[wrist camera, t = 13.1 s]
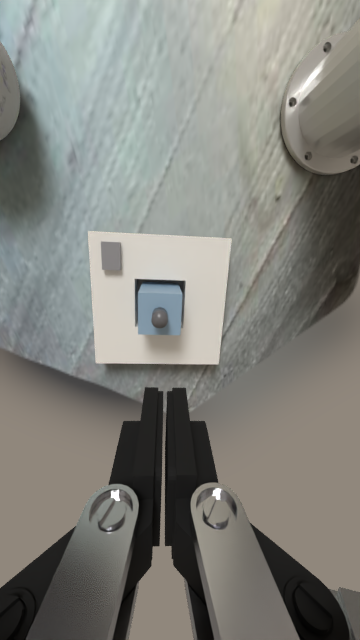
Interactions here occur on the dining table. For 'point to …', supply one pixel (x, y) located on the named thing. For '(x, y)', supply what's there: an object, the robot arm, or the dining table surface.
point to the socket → (157, 266)
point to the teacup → (8, 94)
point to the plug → (159, 308)
